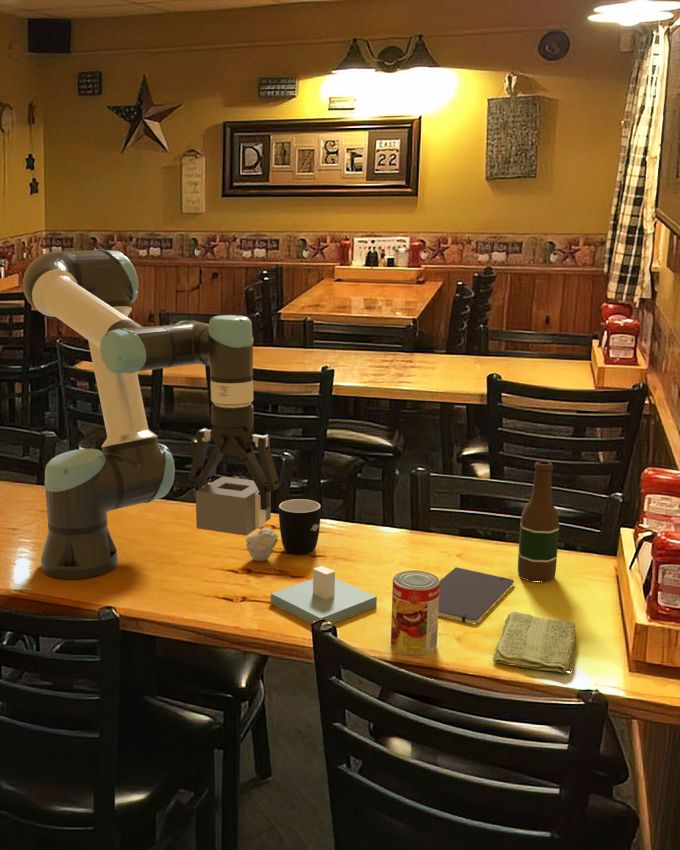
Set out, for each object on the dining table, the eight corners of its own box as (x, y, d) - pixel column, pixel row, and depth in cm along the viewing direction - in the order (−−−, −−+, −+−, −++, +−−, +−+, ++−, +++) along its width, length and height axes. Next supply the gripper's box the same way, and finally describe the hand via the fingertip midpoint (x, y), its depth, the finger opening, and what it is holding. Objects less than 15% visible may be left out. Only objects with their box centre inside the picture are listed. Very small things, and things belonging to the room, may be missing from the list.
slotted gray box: (196, 528, 168) (195, 491, 166) (223, 511, 177) (222, 476, 175) (246, 535, 164) (245, 497, 162) (270, 518, 173) (270, 482, 172)
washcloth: (490, 668, 152) (491, 650, 152) (505, 623, 169) (506, 606, 168) (572, 681, 149) (573, 663, 148) (579, 634, 165) (581, 617, 164)
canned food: (396, 631, 164) (398, 568, 161) (440, 638, 162) (443, 573, 159) (385, 651, 156) (387, 585, 154) (431, 658, 154) (434, 591, 151)
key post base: (270, 603, 174) (270, 568, 173) (326, 583, 184) (326, 550, 182) (320, 628, 164) (321, 591, 163) (376, 606, 174) (377, 571, 172)
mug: (314, 559, 196) (314, 514, 193) (273, 555, 198) (273, 510, 195) (328, 540, 207) (328, 496, 205) (289, 536, 209) (289, 493, 207)
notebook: (455, 574, 191) (411, 612, 173) (455, 566, 190) (411, 604, 172) (514, 587, 185) (475, 628, 167) (515, 579, 184) (476, 620, 166)
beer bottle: (559, 572, 191) (567, 460, 185) (550, 586, 184) (559, 470, 178) (521, 566, 194) (529, 455, 188) (512, 579, 187) (519, 464, 182)
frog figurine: (274, 567, 191) (274, 535, 190) (241, 564, 193) (241, 532, 191) (281, 556, 197) (281, 525, 196) (249, 553, 198) (249, 522, 197)
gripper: (166, 402, 166) (170, 520, 171) (280, 413, 158) (281, 536, 163) (187, 394, 173) (191, 508, 178) (298, 404, 165) (298, 523, 170)
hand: (234, 522), depth 170 cm, fingers closed on slotted gray box, 10 cm apart
